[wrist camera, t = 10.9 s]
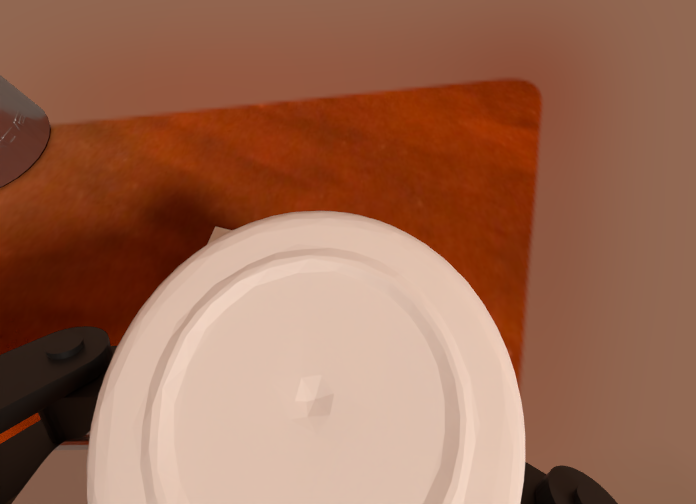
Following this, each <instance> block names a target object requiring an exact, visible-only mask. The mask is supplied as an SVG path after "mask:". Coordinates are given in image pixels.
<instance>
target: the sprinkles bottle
mask: <svg viewBox="0 0 696 504" xmlns="http://www.w3.org/2000/svg"><path fill="white" fill-rule="evenodd" d="M524 471H525V429H524V417H523V410H522V403H521V398H520V394H519V389H518V385H517V381H516V376H515V372H514V369H513V366H512V363H511V360H510V357H509V354H508V351H507V349H506V347H505V344H504V342H503V340H502V337H501V335H500V333H499V331H498V328H497V326H496V325H495V323H494V321H493V319H492V318H491V316H490V314H489V313H488V311H487V309H486V307H485V306H484V304H483V303H482V301H481V300H480V298H479V297H478V296H477V294H476V293H475V292H474V290H473V289H472V288H471V286H470V285H469V284H468V282H467V281H466V280H465V279H464V278H463V277H462V276H461V275H460V274H459V273H458V272H457V271H456V270H455V269H454V268H453V267H452V266H451V265H450V264H449V263H448V262H447V261H446V260H445V259H444V258H443V257H441V256H440V255H439V254H437V253H436V252H435V251H434V250H432V249H431V248H430V247H428V246H427V245H426V244H424V243H423V242H421V241H419V240H418V239H416V238H414V237H413V236H411V235H409V234H408V233H406V232H404V231H402V230H400V229H398V228H396V227H394V226H391V225H389V224H386V223H383V222H381V221H378V220H375V219H371V218H368V217H364V216H360V215H356V214H350V213H343V212H334V211H306V212H292V213H286V214H281V215H275V216H271V217H268V218H265V219H262V220H258V221H255V222H252V223H249V224H246V225H244V226H242V227H239V228H237V229H235V230H232V231H230V232H228V233H226V234H224V235H222V236H221V237H219V238H217V239H215V240H214V241H212V242H211V243H209V244H208V245H206V246H205V247H203V248H202V249H200V250H199V251H197V252H196V253H195V254H193V255H192V256H191V257H190V258H188V259H187V260H186V261H184V262H183V263H182V264H181V265H179V266H178V267H177V268H176V269H175V270H174V271H173V272H172V273H171V274H170V275H169V276H168V277H167V278H166V279H165V280H164V281H163V282H162V283H161V284H160V285H159V286H158V287H157V289H156V290H155V291H154V292H153V294H152V295H151V296H150V297H149V299H148V300H147V301H146V302H145V304H144V305H143V306H142V307H141V309H140V310H139V312H138V313H137V315H136V316H135V318H134V319H133V321H132V322H131V324H130V326H129V327H128V329H127V331H126V332H125V334H124V336H123V338H122V339H121V341H120V343H119V345H118V346H117V348H116V350H115V353H114V355H113V357H112V360H111V362H110V364H109V367H108V369H107V372H106V374H105V377H104V380H103V383H102V386H101V389H100V392H99V395H98V399H97V403H96V407H95V411H94V415H93V419H92V423H91V431H90V439H89V447H88V455H87V501H88V504H520V502H521V496H522V489H523V483H524Z"/></svg>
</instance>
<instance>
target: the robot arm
mask: <svg viewBox="0 0 696 504" xmlns="http://www.w3.org/2000/svg"><path fill="white" fill-rule="evenodd" d="M49 132H50V125H49V121H48V117H47V116H46V114H45V112H44V111H43V110H42V109H41V108H40V107H39V106H38V105H36V104H35V103H34V102H33V101H31V100H30V99H29V98H28V97H26V96H25V95H24V94H23V93H21V92H20V91H19V90H18V89H17V88H15V87H14V86H13V85H12V84H10V83H9V82H8V81H7V80H5V79H4V78H3V77H2V76H0V187H2V186H4V185H6V184H7V183H9V182H11V181H12V180H14V179H16V178H17V177H18V176H20V175H21V174H22V173H23V172H25V171H26V170H27V169H28V168H29V167H30V166H31V165H32V164H33V163H34V162H35V161H36V160H37V159H38V158H39V156H40V154H41V153H42V151H43V150H44V148H45V146H46V144H47V141H48V138H49ZM116 348H117V346H111V345H110V341H109V337H108V335H107V333H106V332H105V331H104V330H102V329H99V328H96V327H86V326H84V327H74V328H68V329H64V330H61V331H57V332H54V333H52V334H49V335H47V336H44V337H42V338H39V339H37V340H35V341H32V342H30V343H28V344H25V345H23V346H20V347H18V348H16V349H13V350H11V351H8V352H6V353H4V354H1V355H0V434H1V433H3V432H4V431H6V430H8V429H10V428H11V427H13V426H15V425H16V424H18V423H20V422H22V421H23V420H25V419H27V418H29V417H30V416H32V415H34V414H35V413H37V412H38V414H39V416H40V418H41V420H40V421H38V422H36V423H35V424H33V425H31V426H30V427H28V428H26V429H25V430H23V431H21V432H20V433H18V434H16V435H15V436H13V437H11V438H10V439H8V440H6V441H5V442H3V443H1V444H0V504H88V501H87V455H88V447H89V439H90V431H91V423H92V419H93V415H94V411H95V407H96V403H97V399H98V395H99V392H100V389H101V386H102V383H103V380H104V377H105V374H106V372H107V369H108V367H109V364H110V362H111V360H112V357H113V355H114V353H115V350H116ZM520 504H618V503H616V501H615V500H614V499H613V498H612V497H611V496H610V495H609V494H608V492H607V491H606V490H604V489H603V488H602V487H601V486H600V485H599V484H598V483H597V482H595V481H594V480H593V479H591V478H590V477H589V476H587V475H585V474H584V473H582V472H580V471H578V470H576V469H574V468H571V467H568V466H556V467H554V468H553V469H551V471H550V472H549V473H548V474H547V475H546V474H544V473H543V472H541V471H540V470H538V469H536V468H535V467H533V466H531V465H530V464H528V463H526V462H525V471H524V483H523V489H522V496H521V502H520Z"/></svg>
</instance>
